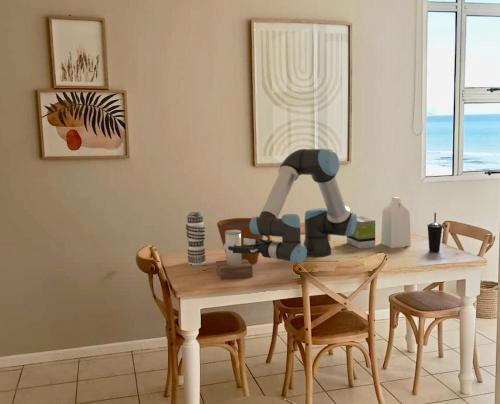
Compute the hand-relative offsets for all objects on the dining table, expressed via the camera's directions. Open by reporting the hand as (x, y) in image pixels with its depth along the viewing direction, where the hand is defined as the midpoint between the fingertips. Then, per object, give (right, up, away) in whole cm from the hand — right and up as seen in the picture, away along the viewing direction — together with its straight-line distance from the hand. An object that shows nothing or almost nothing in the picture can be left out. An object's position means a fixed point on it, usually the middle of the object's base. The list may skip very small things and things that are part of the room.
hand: (234, 243), depth 250 cm
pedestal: (0, -14, +3) cm, 14 cm away
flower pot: (+3, -11, +25) cm, 27 cm away
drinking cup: (+101, -7, +36) cm, 107 cm away
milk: (+86, -5, +54) cm, 101 cm away
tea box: (+67, -5, +55) cm, 87 cm away
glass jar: (0, -9, +2) cm, 9 cm away
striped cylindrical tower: (-19, -12, +25) cm, 34 cm away
